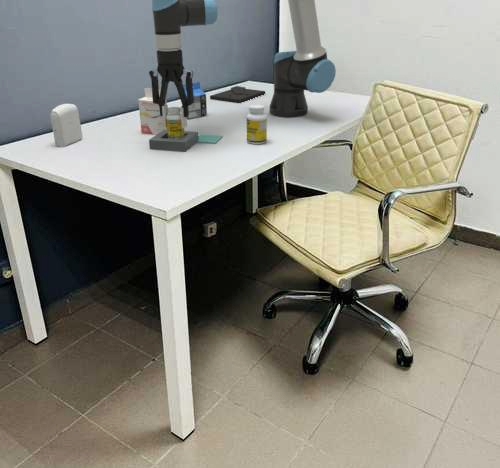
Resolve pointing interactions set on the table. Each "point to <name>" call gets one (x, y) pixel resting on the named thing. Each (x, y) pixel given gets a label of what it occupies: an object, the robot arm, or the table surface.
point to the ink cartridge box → (150, 114)
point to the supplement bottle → (174, 123)
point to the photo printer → (66, 124)
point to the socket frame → (173, 141)
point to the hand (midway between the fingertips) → (175, 126)
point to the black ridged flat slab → (237, 95)
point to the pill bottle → (256, 125)
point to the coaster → (208, 139)
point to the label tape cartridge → (197, 102)
